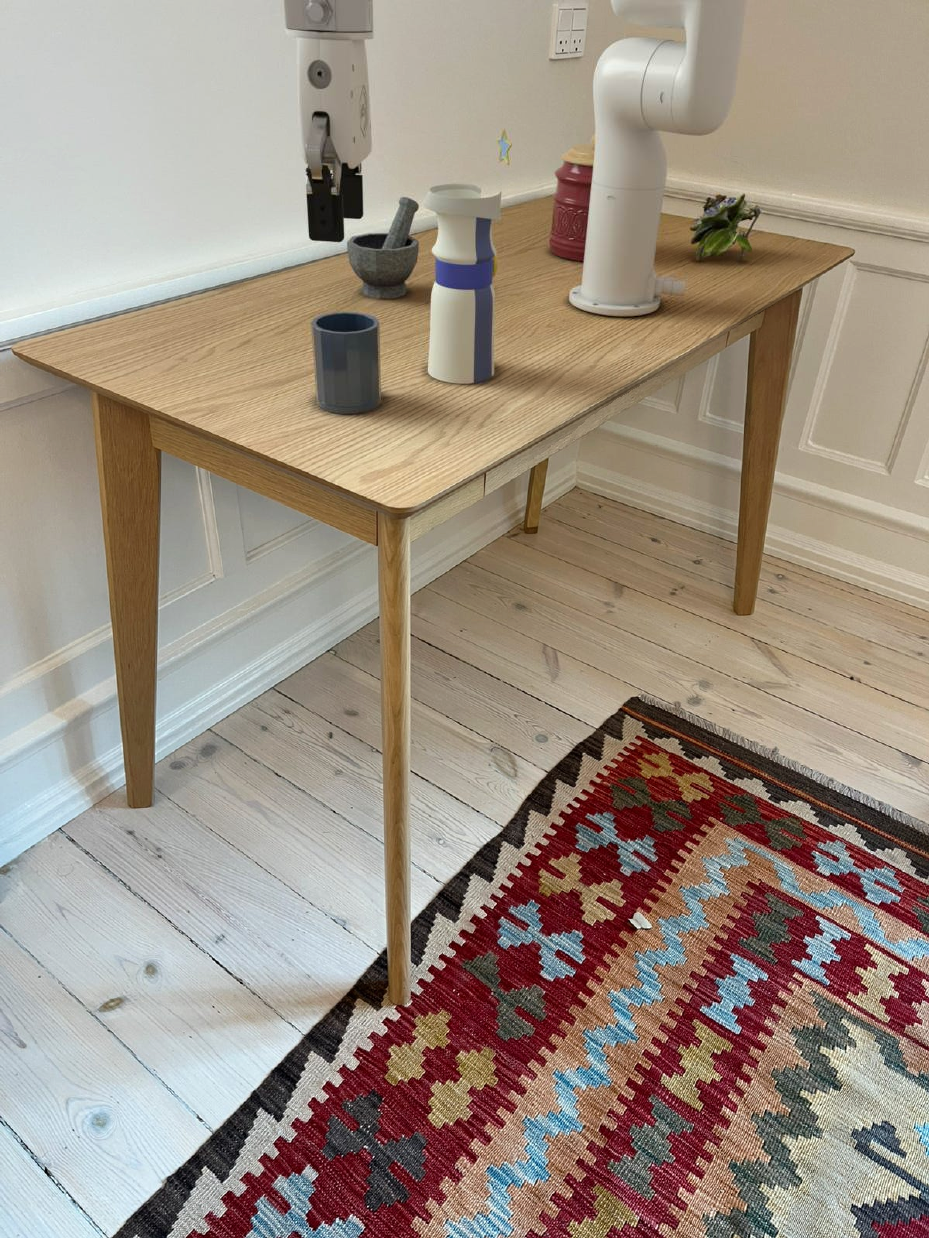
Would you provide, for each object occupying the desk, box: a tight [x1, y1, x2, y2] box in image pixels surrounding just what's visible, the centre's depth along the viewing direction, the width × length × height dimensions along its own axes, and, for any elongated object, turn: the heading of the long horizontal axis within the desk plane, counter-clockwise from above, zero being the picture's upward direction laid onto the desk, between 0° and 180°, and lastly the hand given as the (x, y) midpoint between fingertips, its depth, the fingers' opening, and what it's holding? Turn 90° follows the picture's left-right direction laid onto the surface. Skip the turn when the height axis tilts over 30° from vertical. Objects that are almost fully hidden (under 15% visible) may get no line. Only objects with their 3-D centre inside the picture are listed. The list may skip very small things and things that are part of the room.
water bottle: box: [422, 128, 513, 385], centre depth 100 cm, size 8×9×25 cm
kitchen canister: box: [548, 133, 595, 262], centre depth 147 cm, size 13×13×18 cm
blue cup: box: [310, 311, 382, 415], centre depth 97 cm, size 7×7×8 cm
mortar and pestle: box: [346, 196, 420, 300], centre depth 128 cm, size 11×9×12 cm
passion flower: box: [689, 192, 762, 262], centre depth 150 cm, size 11×11×12 cm
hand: (337, 228), depth 89 cm, fingers open, 9 cm apart
